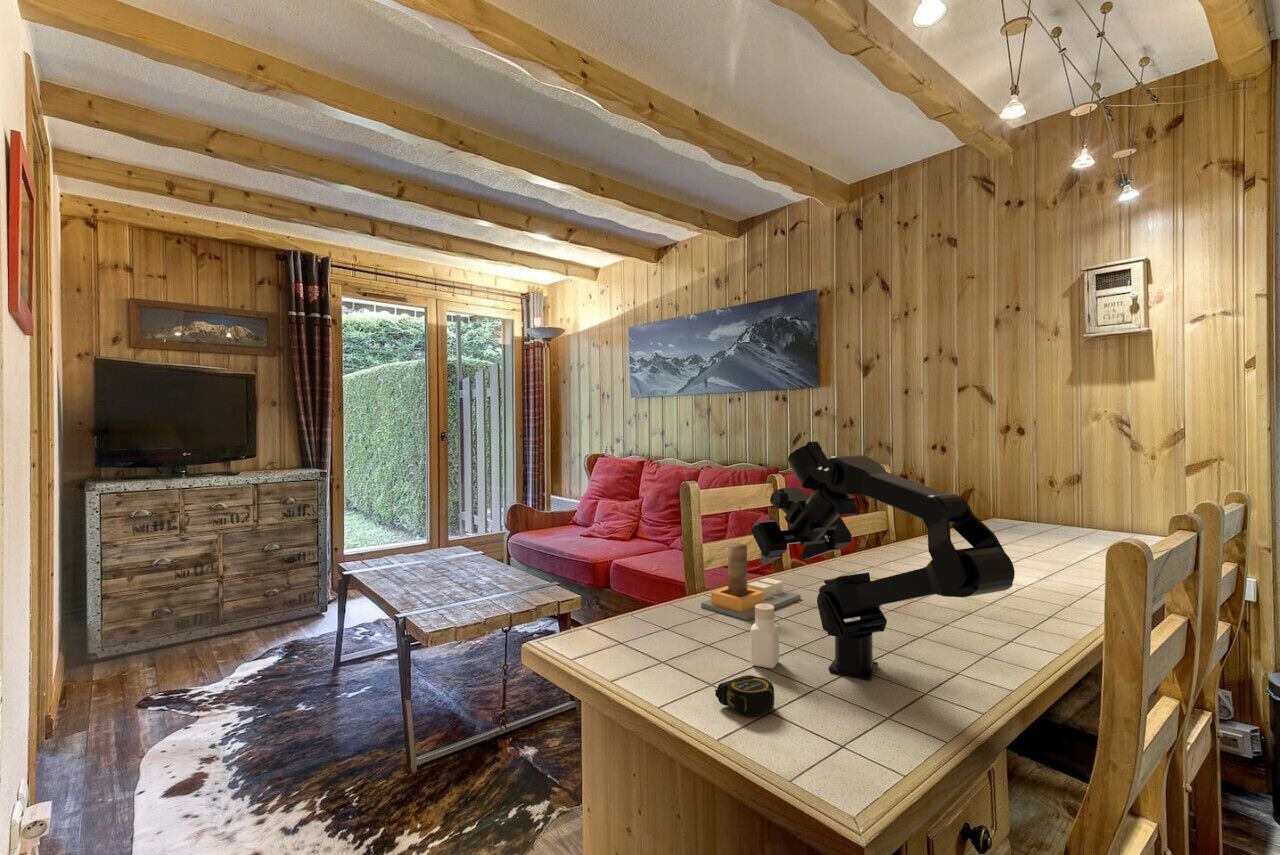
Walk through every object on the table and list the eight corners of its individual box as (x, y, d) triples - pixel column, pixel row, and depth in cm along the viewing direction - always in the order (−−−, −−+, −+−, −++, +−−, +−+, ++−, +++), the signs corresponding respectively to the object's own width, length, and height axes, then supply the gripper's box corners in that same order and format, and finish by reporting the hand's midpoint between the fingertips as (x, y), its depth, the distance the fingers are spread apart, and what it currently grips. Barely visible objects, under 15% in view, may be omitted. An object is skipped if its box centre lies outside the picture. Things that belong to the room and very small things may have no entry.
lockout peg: (739, 607, 124) (738, 548, 124) (724, 603, 127) (724, 545, 127) (751, 603, 127) (750, 545, 126) (736, 599, 130) (736, 542, 129)
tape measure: (751, 694, 88) (751, 668, 88) (785, 713, 82) (784, 686, 82) (715, 706, 84) (714, 679, 84) (747, 726, 78) (747, 698, 78)
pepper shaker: (756, 657, 101) (756, 601, 101) (780, 661, 99) (779, 604, 99) (749, 666, 97) (749, 608, 97) (774, 670, 95) (773, 611, 95)
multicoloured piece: (746, 620, 119) (746, 603, 119) (701, 607, 128) (700, 591, 128) (800, 598, 133) (800, 583, 133) (755, 588, 141) (755, 573, 141)
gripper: (840, 471, 111) (803, 521, 121) (756, 476, 104) (724, 529, 114) (872, 520, 104) (829, 568, 114) (784, 529, 96) (747, 580, 107)
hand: (782, 560), depth 112 cm, fingers open, 9 cm apart
